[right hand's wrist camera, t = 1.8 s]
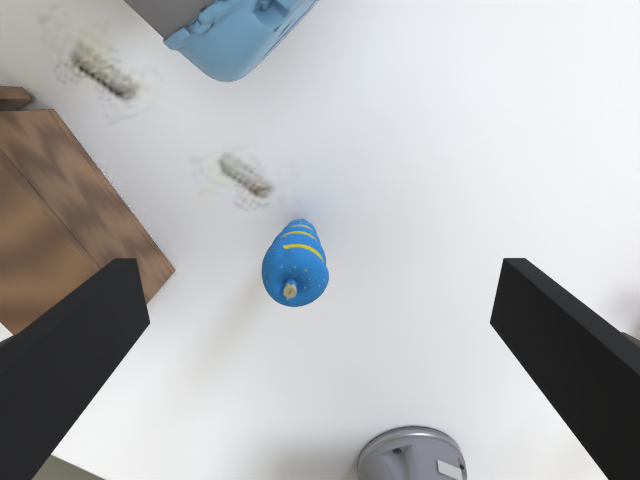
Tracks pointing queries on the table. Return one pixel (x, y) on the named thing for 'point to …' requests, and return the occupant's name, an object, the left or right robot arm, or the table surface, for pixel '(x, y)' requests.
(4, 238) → the cabinet
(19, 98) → the drawer
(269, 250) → the ornament
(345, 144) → the table surface
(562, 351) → the right robot arm
